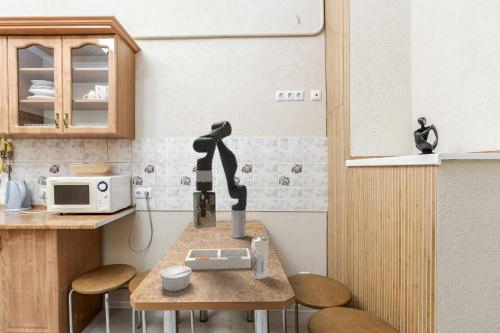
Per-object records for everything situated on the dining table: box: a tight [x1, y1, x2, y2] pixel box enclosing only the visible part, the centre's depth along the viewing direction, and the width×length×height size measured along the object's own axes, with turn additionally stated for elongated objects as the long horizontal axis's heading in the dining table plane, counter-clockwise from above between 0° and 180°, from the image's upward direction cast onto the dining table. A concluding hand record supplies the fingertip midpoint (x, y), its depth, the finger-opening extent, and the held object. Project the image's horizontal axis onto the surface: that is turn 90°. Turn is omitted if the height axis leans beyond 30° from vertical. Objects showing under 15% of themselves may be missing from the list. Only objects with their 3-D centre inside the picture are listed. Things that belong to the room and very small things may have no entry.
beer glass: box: [250, 236, 270, 281], centre depth 99 cm, size 7×7×15 cm
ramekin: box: [160, 265, 193, 292], centre depth 91 cm, size 11×11×5 cm
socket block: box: [184, 247, 252, 271], centre depth 114 cm, size 14×28×4 cm, turn 95°
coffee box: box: [192, 191, 217, 230], centre depth 114 cm, size 9×6×16 cm
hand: (204, 215), depth 114 cm, fingers closed on coffee box, 8 cm apart
